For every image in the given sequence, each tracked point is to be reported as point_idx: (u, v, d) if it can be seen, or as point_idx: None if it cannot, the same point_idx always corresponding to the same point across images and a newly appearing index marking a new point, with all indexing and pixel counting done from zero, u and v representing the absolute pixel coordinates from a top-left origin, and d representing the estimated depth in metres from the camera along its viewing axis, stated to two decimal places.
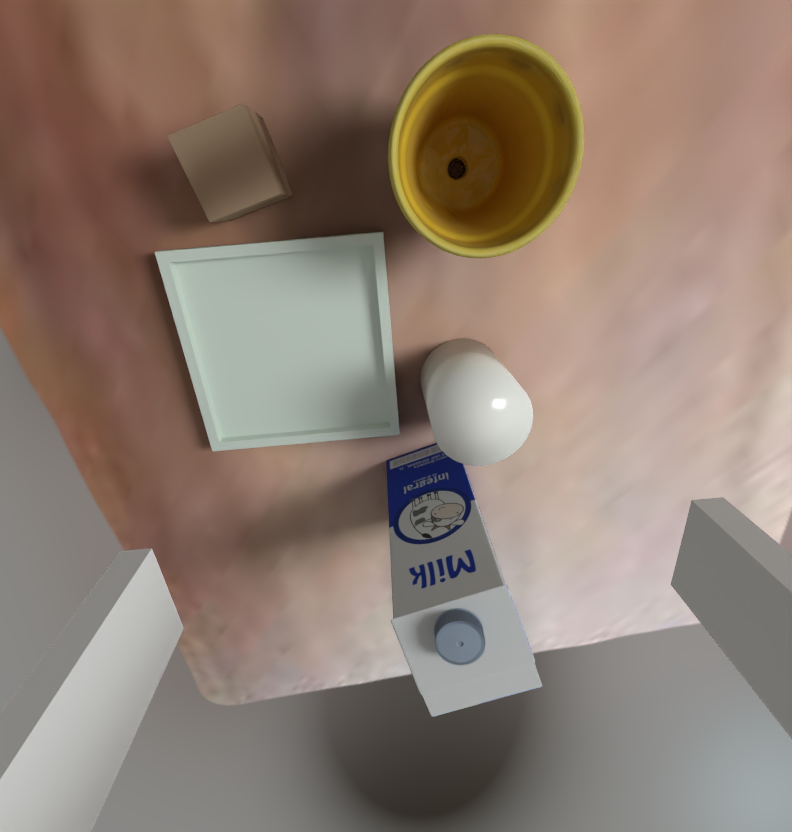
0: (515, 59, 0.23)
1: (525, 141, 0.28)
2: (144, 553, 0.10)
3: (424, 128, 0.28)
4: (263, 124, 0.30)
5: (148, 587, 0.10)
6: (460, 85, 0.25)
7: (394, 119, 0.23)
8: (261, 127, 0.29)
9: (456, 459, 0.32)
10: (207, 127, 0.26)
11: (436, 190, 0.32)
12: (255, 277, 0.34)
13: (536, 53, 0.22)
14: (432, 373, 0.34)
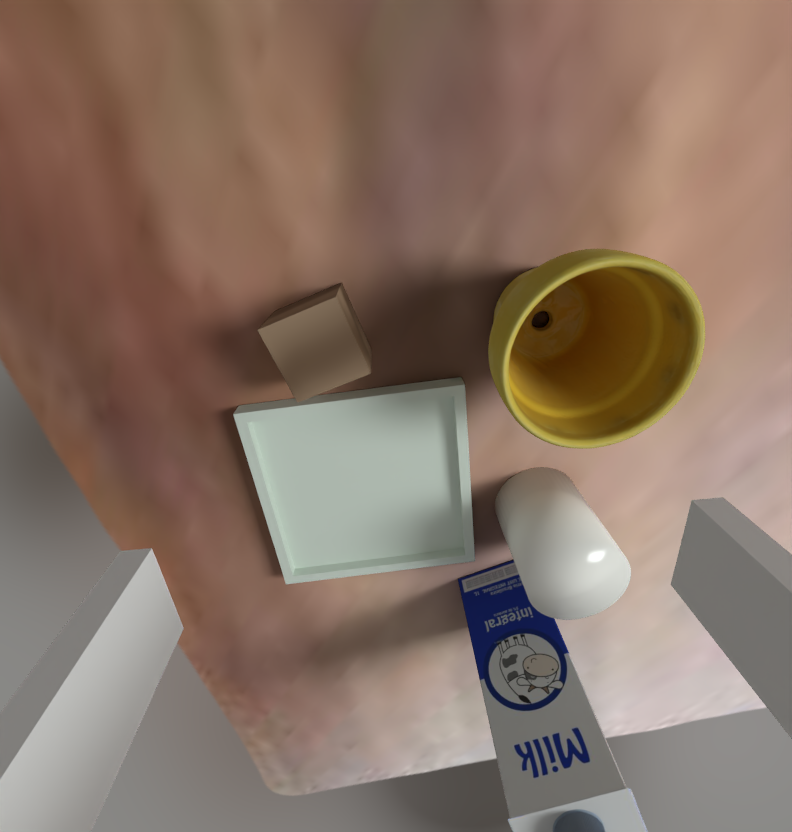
0: (633, 268, 0.22)
1: (623, 310, 0.27)
2: (144, 553, 0.10)
3: None
4: (344, 291, 0.29)
5: (148, 587, 0.10)
6: None
7: (507, 335, 0.22)
8: (345, 300, 0.28)
9: (549, 615, 0.31)
10: (298, 320, 0.26)
11: (519, 341, 0.31)
12: (331, 427, 0.34)
13: (660, 270, 0.21)
14: (515, 517, 0.34)
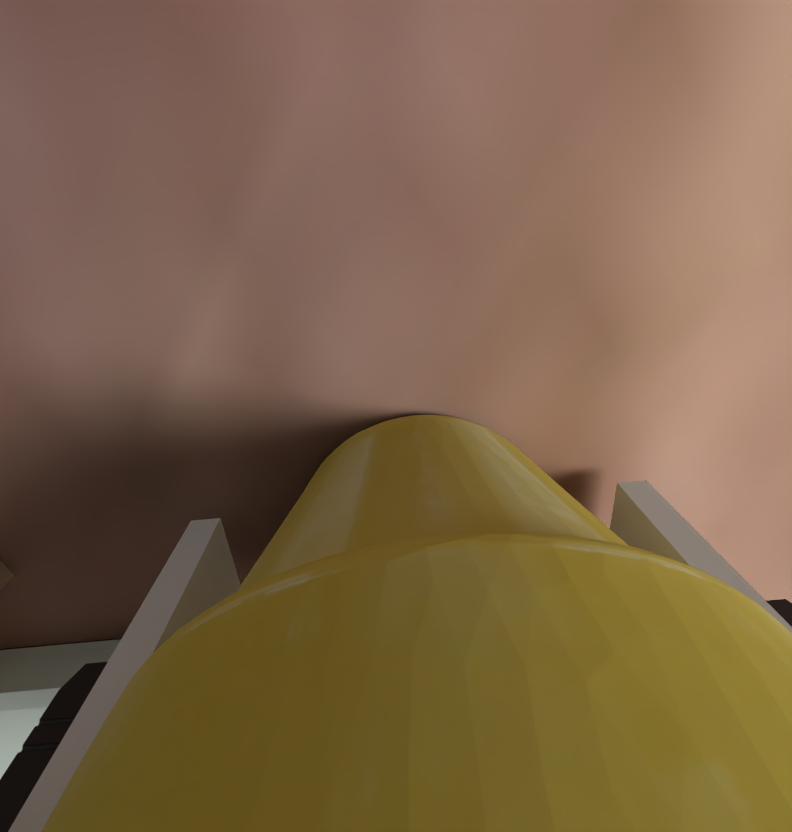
0: None
1: None
2: (214, 522, 0.11)
3: None
4: None
5: (218, 553, 0.11)
6: None
7: None
8: None
9: None
10: None
11: None
12: None
13: None
14: None
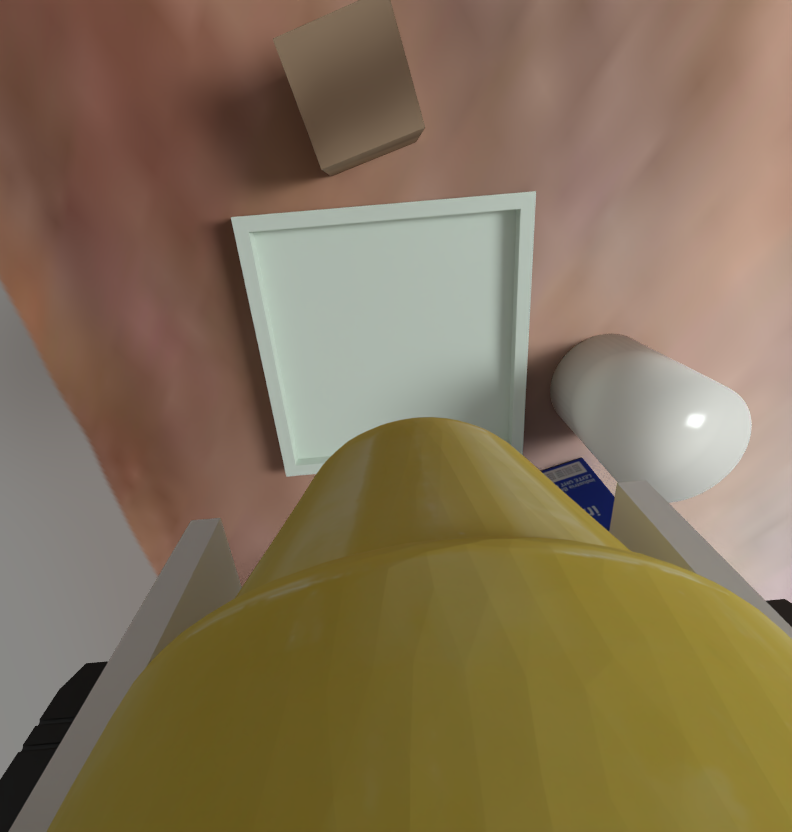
0: None
1: None
2: (215, 522, 0.11)
3: None
4: None
5: (219, 553, 0.11)
6: None
7: None
8: None
9: None
10: (331, 26, 0.18)
11: None
12: (357, 253, 0.26)
13: None
14: (588, 379, 0.26)
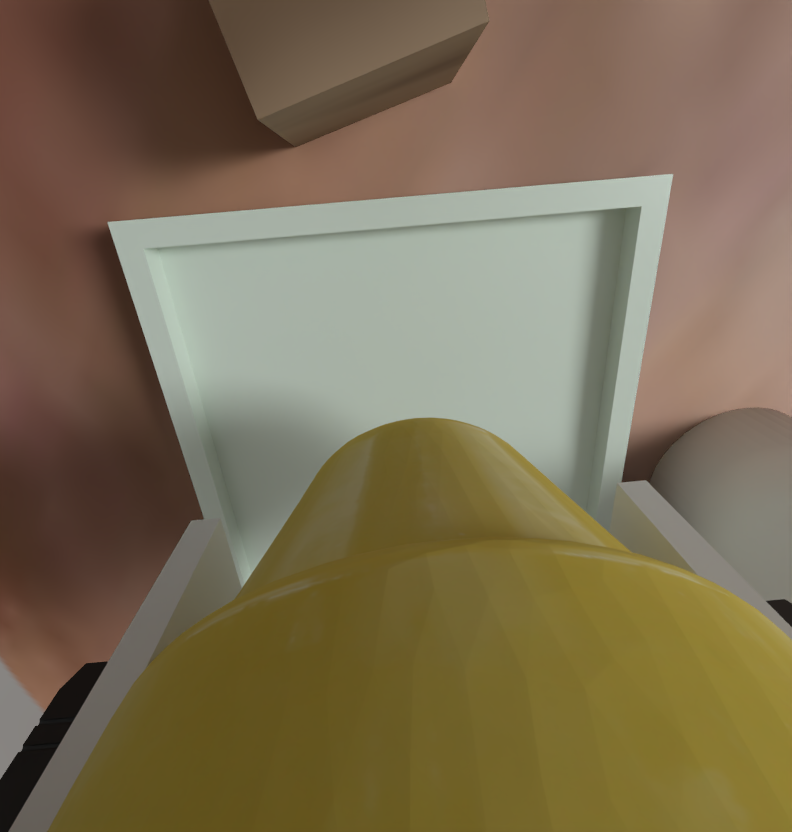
0: None
1: None
2: (214, 522, 0.11)
3: None
4: None
5: (219, 553, 0.11)
6: None
7: None
8: None
9: None
10: None
11: None
12: (344, 284, 0.15)
13: None
14: (743, 502, 0.15)
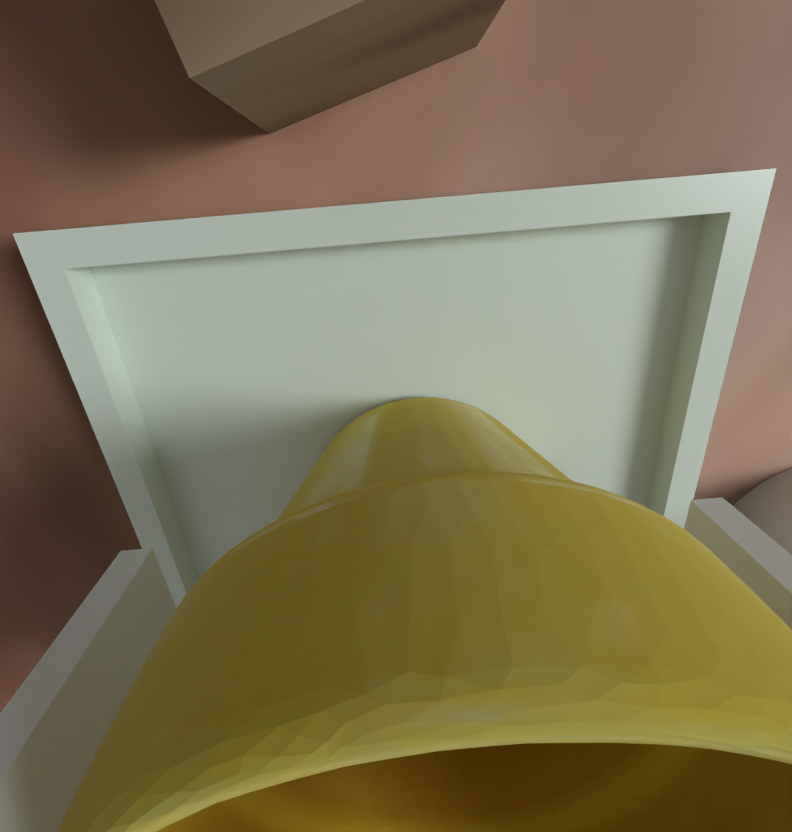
0: None
1: None
2: (145, 553, 0.10)
3: None
4: None
5: (149, 587, 0.10)
6: None
7: None
8: None
9: None
10: None
11: None
12: (335, 312, 0.12)
13: None
14: None
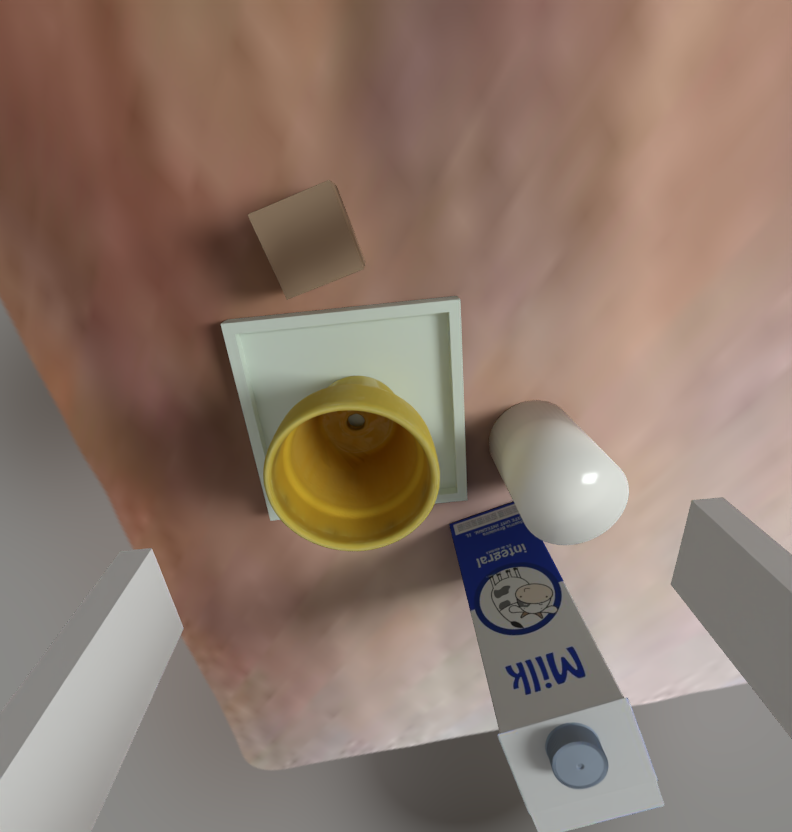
0: None
1: None
2: (144, 553, 0.10)
3: None
4: (338, 193, 0.29)
5: (148, 587, 0.10)
6: None
7: (265, 461, 0.25)
8: (339, 198, 0.28)
9: (544, 539, 0.30)
10: (290, 205, 0.25)
11: (338, 438, 0.35)
12: (322, 345, 0.33)
13: (385, 414, 0.24)
14: (510, 443, 0.33)
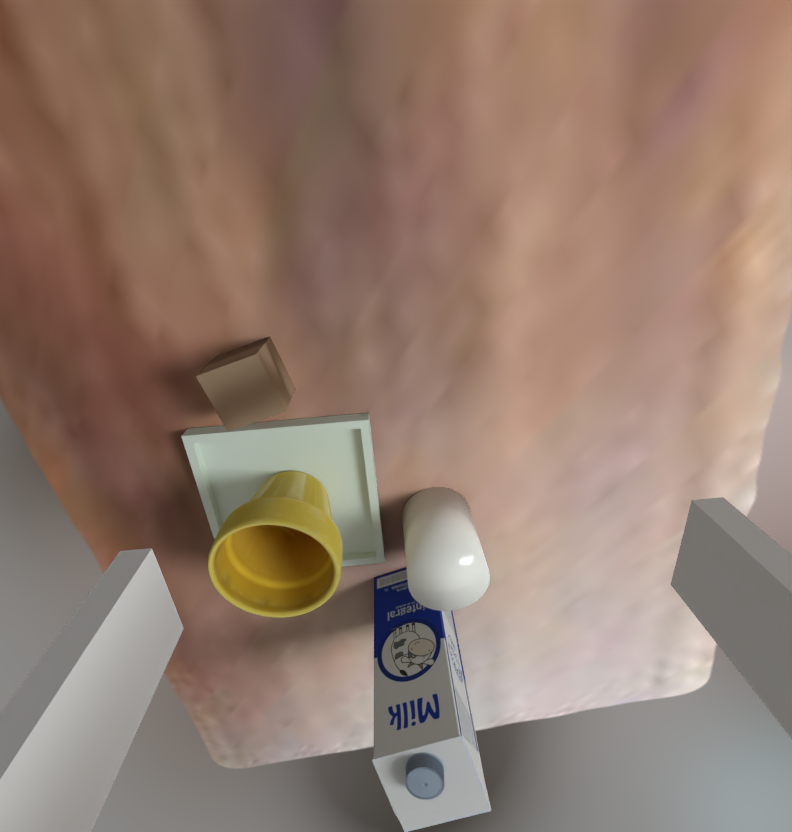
0: None
1: None
2: (144, 553, 0.10)
3: None
4: (270, 344, 0.37)
5: (148, 587, 0.10)
6: None
7: (208, 557, 0.34)
8: (269, 353, 0.36)
9: (428, 606, 0.39)
10: (227, 370, 0.34)
11: None
12: (263, 448, 0.41)
13: (295, 528, 0.33)
14: (410, 527, 0.42)
